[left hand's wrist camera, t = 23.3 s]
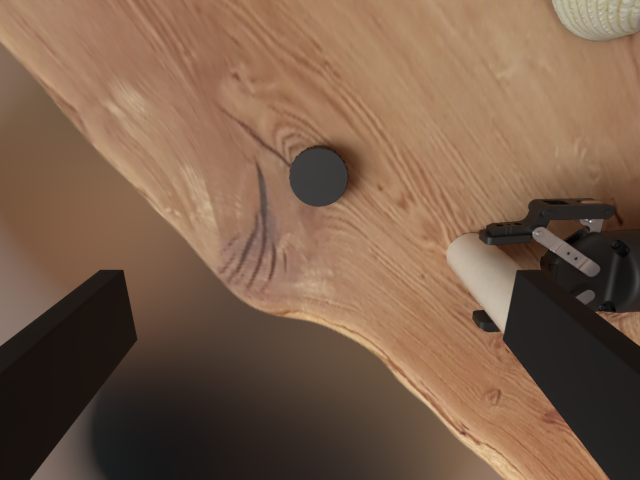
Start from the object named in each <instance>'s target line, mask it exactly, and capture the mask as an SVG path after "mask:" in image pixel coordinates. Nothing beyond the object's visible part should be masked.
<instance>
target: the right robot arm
mask: <svg viewBox="0 0 640 480" xmlns="http://www.w3.org/2000/svg"><path fill="white" fill-rule="evenodd" d="M528 208H529V210H530V211H529V213H528V215H527V216H526V218H525V219H523V220H521V221H516V222H504V223H503V222H502V223H492V224H489V225H487V226H486V229H485V230H480V231H479V239H480V240H481V241H482V242H483V243H485V244H487V245H501V244H516V243H530V239H534V240H535V241H537V242H538V243H540V244H541V245H542V246H544V247H545V248H547V249H548V251H547V253H546V254H545V255H544V256H542V257H541V260H540V267H541V271H542V272H543V273H544V274H546V275H547V276H548V277H550V278H551V279H552V280H554V281H555V282H556V283H558V284H559V285H560V286H561V287H563V288H564V289H565V290H567V291H568V292H569V293H571V294H572V295H573V296H575V297H576V298H577V299H578V300H580V301H581V302H582V303H584V304H585V305H586V306H588V307H589V308H590V309H591V310H593V311H594V312H597V311H605V312H613V313H625V312H640V229H631V230H617V231H604V232H601V229H602V225H603V221H604V219H609V218H611V217H612V216H613V215H614V212H615V209H614V207H613V206H611V205H608V204H605V203H602V202H600V201H597V200H594V199H591V198H583V199H535V200H532V201H531V202H530V203H529V206H528ZM550 220H574V221H575V222H577V223H580V224H582V225H583V226H584V229H580V230H578V231H577V232H575V233H574V234H572V235H571V236H569V237H568V238H566V239H565V240H561V239H560V238H558V237H557V236H555V235H554V234H553V233H551V232H550V231H548V230H547V229H546V227H547V225H548V223H549V221H550ZM472 319H473V320H474V322H475V323H476V325H477V326H478V327H479V328H481V329H483V330H484V331H486V332H499V331H500V329H499V328H498V327H497V326H496V324H495V323H494V322H493V321H492V319H491V318H490V317H489V316H488V314H487V313H486V312H485V311H484V310H477V311H473V317H472ZM500 332H501V331H500Z"/></svg>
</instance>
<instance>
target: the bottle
mask: <svg viewBox="0 0 640 480" xmlns="http://www.w3.org/2000/svg"><path fill="white" fill-rule="evenodd" d="M447 262H448V265H449V266H450V268H451V269H452V270H453V271H454V273H455V274H456V275H457V277H458V278H459V279H460V280H461V282H462V283H463V284H464V285H465V287H466V288H467V289H468V290H469V292H470V293H471V294H472V295H473V297H474V298H475V299H476V300H477V302H478V303H479V304H480V306H481V307H482V308H483V309H484V311H485V312H486V313H487V314H488V316H489V317H490V318H491V319H492V321H493V322H494V323H495V324H496V326H497V327H498V328H499V329H500V331H501V332H502V333H503V335H504V331H505V326H506V321H507V316H508V311H509V306H510V301H511V296H512V291H513V286H514V281H515V276H516V271H517V270H525V269H524V268H523V267H522V266H521V265H519V264H518V263H517V262H516V261H514V260H513V259H512V258H511V257H509V256H508V255H507V254H506V253H504V252H503V251H502V250H501V249H500V248H498V247H497V246H496V245H487V244H485V243H483V242H482V241H481V240H480V239H479V234H478V233H467V234H463V235H461V236H459V237H458V238H456V239H455V240H454V241H453V242H452V243H451V244H450V246H449V248H448V251H447Z"/></svg>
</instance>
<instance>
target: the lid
mask: <svg viewBox="0 0 640 480" xmlns="http://www.w3.org/2000/svg"><path fill="white" fill-rule="evenodd" d="M347 170H348V169H347V167H346V166H345V162H344V161H343V160H342V158H341V156H340V155H338V154H337V153H336V152H335V150H334V151H333V150H332V149H329V147H328V148H326V147H322V146H316V147H315V146H314V147H311V148H307V149H306V150H304V151H303V152H302V151H301V153H300V154H299V155H298V156H296V158H295V161H294V162H293V163H292V167H291V169H290V177H289V179H290V186H291V188H292V190H293V192H294V194H295V195H296V196H297V197H298V198H299V199H300V200H301V201H302V202H304V203H306V204H308V205H311V206H326V205H329V204H332V203H334V202H335V201H336V200H338V199H339V198H340V197H341V196H342V194H343V193H344V191H345V189H346V186H347V184H348V183H347V182H348V173H347Z"/></svg>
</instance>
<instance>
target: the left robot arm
mask: <svg viewBox="0 0 640 480" xmlns="http://www.w3.org/2000/svg"><path fill="white" fill-rule="evenodd" d="M136 341H137V336H136V331H135V326H134V321H133V316H132V311H131V306H130V301H129V296H128V291H127V286H126V281H125V276H124V271H123V270H99V271H98V272H97V273H96V274H94V275H93V276H92V277H90V278H89V279H88V280H86V281H85V282H84V283H83V284H81V285H80V286H79V287H77V288H76V289H75V290H73V291H72V292H71V293H69V294H68V295H67V296H65V297H64V298H63V299H62V300H60V301H59V302H58V303H56V304H55V305H54V306H52V307H51V308H50V309H49V310H47V311H46V312H45V313H43V314H42V315H41V316H39V317H38V318H37V319H35V320H34V321H33V322H32V323H30V324H29V325H28V326H26V327H25V328H24V329H22V330H21V331H20V332H18V333H17V334H16V335H15V336H13V337H12V338H11V339H9V340H8V341H7V342H5V343H4V344H3V345H1V346H0V480H30V479H31V477H32V476H33V475H34V474H35V472H36V471H37V470H38V468H39V467H40V466H41V464H42V463H43V462H44V461H45V459H46V458H47V457H48V455H49V454H50V453H51V451H52V450H53V449H54V448H55V446H56V445H57V444H58V442H59V441H60V440H61V438H62V437H63V436H64V435H65V433H66V432H67V431H68V429H69V428H70V427H71V425H72V424H73V423H74V422H75V420H76V419H77V418H78V416H79V415H80V414H81V412H82V411H83V410H84V409H85V407H86V406H87V405H88V403H89V402H90V401H91V399H92V398H93V397H94V395H95V394H96V393H97V392H98V390H99V389H100V388H101V386H102V385H103V384H104V382H105V381H106V380H107V379H108V377H109V376H110V375H111V373H112V372H113V371H114V369H115V368H116V367H117V366H118V364H119V363H120V362H121V360H122V359H123V358H124V356H125V355H126V354H127V352H128V351H129V350H130V348H131V347H132V346H133V345H134V343H135V342H136ZM503 341H504V342H505V343H506V345H507V346H508V347H509V349H510V350H511V351H512V352H513V354H514V355H515V356H516V358H517V359H518V360H519V362H520V363H521V364H522V366H523V367H524V368H525V369H526V371H527V372H528V373H529V375H530V376H531V377H532V379H533V380H534V381H535V382H536V384H537V385H538V386H539V388H540V389H541V390H542V392H543V393H544V394H545V395H546V397H547V398H548V399H549V401H550V402H551V403H552V405H553V406H554V407H555V409H556V410H557V411H558V412H559V414H560V415H561V416H562V418H563V419H564V420H565V422H566V423H567V424H568V425H569V427H570V428H571V429H572V431H573V432H574V433H575V435H576V436H577V437H578V438H579V440H580V441H581V442H582V444H583V445H584V446H585V448H586V449H587V450H588V451H589V453H590V454H591V455H592V457H593V458H594V459H595V461H596V462H597V463H598V465H599V466H600V467H601V468H602V470H603V471H604V472H605V474H606V475H607V476H608V478H609V479H610V480H640V346H639V345H637V344H636V343H635V342H633V341H632V340H631V339H629V338H628V337H627V336H625V335H624V334H623V333H622V332H620V331H619V330H618V329H616V328H615V327H614V326H612V325H611V324H610V323H608V322H607V321H606V320H605V319H603V318H602V317H601V316H599V315H598V314H597V313H595V312H594V311H593V310H591V309H590V308H589V307H588V306H586V305H585V304H584V303H582V302H581V301H580V300H578V299H577V298H576V297H575V296H573V295H572V294H571V293H569V292H568V291H567V290H565V289H564V288H563V287H561V286H560V285H559V284H558V283H556V282H555V281H554V280H552V279H551V278H550V277H548V276H547V275H546V274H544V273H543V272H542V271H541V270H517V271H516V276H515V281H514V286H513V291H512V296H511V301H510V306H509V311H508V316H507V321H506V326H505V331H504V336H503Z"/></svg>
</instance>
